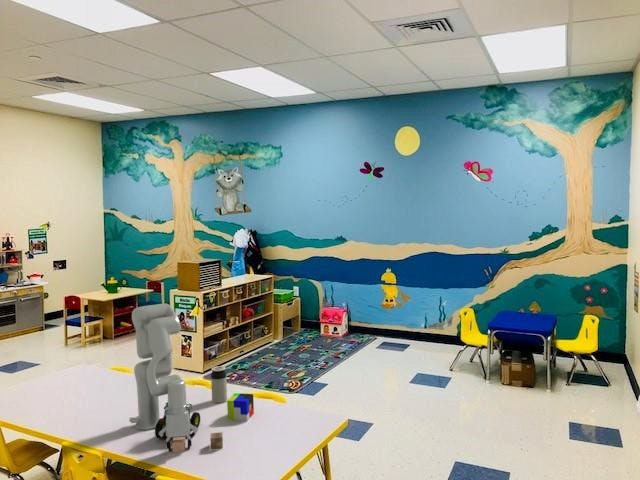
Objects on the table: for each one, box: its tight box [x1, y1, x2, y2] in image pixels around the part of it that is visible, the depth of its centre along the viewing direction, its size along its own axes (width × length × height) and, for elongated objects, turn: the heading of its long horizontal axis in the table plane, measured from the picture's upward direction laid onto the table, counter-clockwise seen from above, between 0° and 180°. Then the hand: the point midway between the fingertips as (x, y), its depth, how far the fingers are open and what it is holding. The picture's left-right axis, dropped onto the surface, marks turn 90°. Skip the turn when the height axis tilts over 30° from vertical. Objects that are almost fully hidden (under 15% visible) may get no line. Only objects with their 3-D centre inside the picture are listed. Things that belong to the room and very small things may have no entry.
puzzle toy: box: [226, 392, 255, 422], centre depth 262 cm, size 10×10×10 cm
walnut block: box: [209, 431, 224, 451], centre depth 229 cm, size 5×5×5 cm
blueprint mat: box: [208, 441, 226, 452], centre depth 229 cm, size 14×12×1 cm
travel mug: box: [210, 365, 228, 404], centre depth 283 cm, size 8×8×18 cm
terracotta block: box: [171, 437, 187, 453], centre depth 227 cm, size 5×5×5 cm
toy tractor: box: [154, 401, 201, 440], centre depth 244 cm, size 14×22×15 cm, turn 168°
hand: (179, 448), depth 227 cm, fingers open, 7 cm apart
